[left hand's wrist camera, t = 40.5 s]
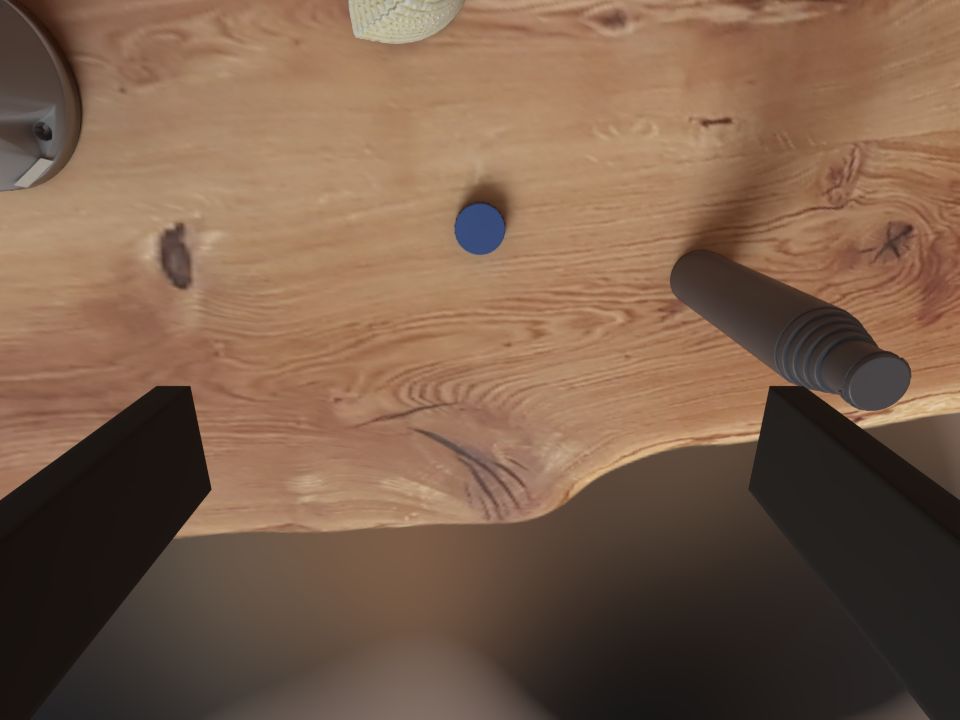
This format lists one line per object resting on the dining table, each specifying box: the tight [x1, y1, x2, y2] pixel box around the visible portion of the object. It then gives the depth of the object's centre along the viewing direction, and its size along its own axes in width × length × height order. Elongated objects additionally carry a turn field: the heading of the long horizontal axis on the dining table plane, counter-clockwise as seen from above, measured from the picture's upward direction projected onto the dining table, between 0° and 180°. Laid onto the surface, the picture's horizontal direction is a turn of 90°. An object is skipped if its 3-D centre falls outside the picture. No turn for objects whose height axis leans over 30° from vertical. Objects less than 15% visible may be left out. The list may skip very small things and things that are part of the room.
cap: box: [454, 202, 505, 255], centre depth 47 cm, size 4×4×2 cm
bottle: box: [670, 250, 911, 411], centre depth 38 cm, size 5×5×24 cm
